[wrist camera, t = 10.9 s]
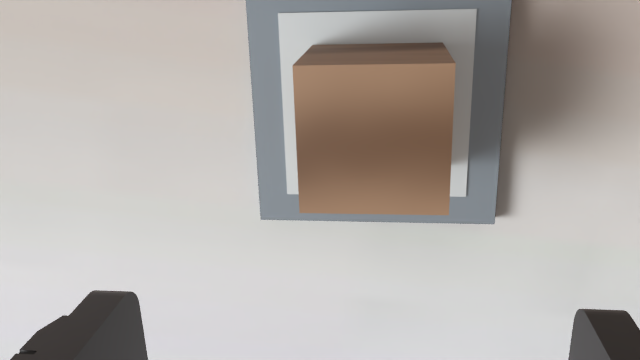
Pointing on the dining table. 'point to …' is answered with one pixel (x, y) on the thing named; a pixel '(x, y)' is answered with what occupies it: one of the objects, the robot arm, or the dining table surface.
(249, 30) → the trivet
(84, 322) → the robot arm
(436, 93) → the walnut cube
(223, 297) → the dining table surface
